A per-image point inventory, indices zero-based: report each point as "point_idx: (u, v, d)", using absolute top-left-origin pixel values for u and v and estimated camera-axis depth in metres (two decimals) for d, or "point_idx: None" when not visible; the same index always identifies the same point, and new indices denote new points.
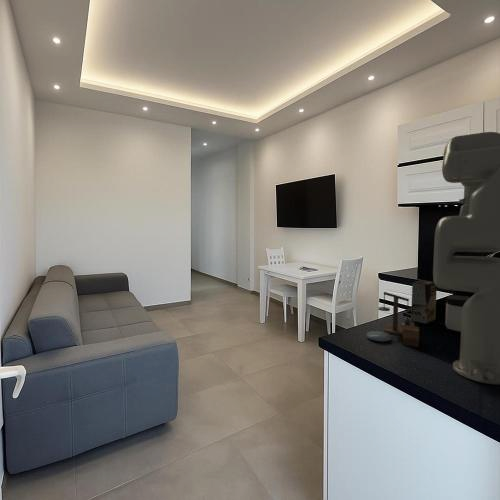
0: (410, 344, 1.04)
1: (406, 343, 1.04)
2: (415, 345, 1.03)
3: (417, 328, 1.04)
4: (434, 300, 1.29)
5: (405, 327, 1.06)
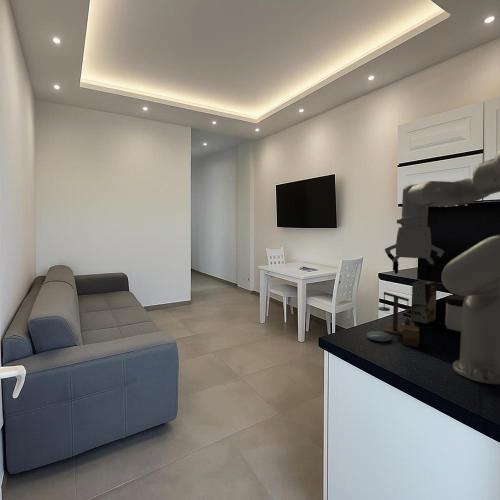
0: (410, 344, 1.04)
1: (406, 343, 1.04)
2: (415, 345, 1.03)
3: (417, 328, 1.04)
4: (434, 300, 1.29)
5: (405, 327, 1.06)
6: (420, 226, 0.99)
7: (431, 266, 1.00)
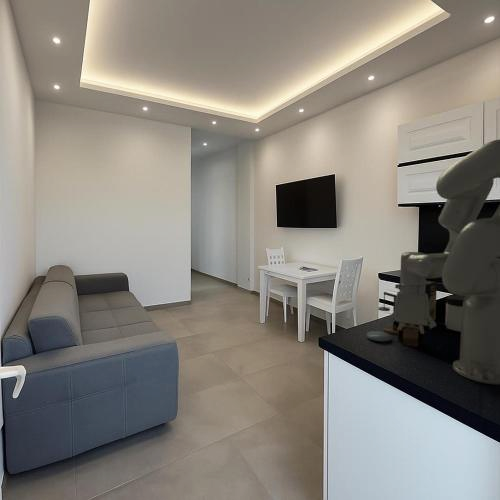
0: (410, 344, 1.04)
1: (406, 343, 1.04)
2: (415, 345, 1.03)
3: (417, 328, 1.04)
4: (434, 300, 1.29)
5: (405, 327, 1.06)
6: (418, 294, 1.00)
7: (422, 335, 1.03)
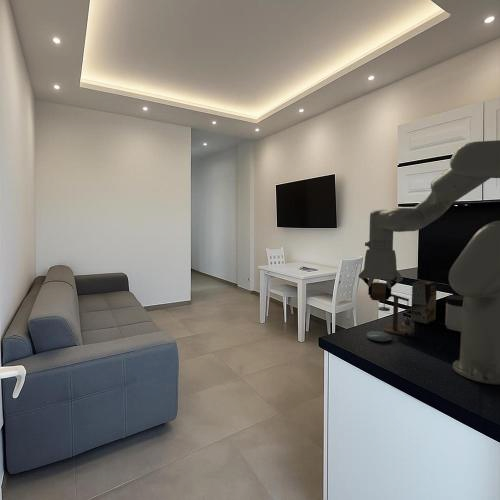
0: (378, 299, 1.07)
1: (374, 298, 1.08)
2: (383, 299, 1.06)
3: (385, 284, 1.08)
4: (434, 300, 1.29)
5: (374, 283, 1.09)
6: (385, 250, 1.04)
7: (389, 290, 1.06)
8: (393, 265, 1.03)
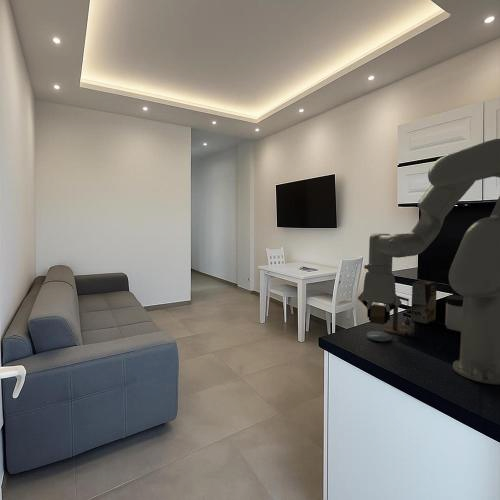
0: (377, 322, 1.08)
1: (373, 321, 1.08)
2: (382, 323, 1.07)
3: (384, 307, 1.09)
4: (434, 300, 1.29)
5: (373, 306, 1.10)
6: (384, 274, 1.04)
7: (388, 313, 1.07)
8: (392, 289, 1.04)
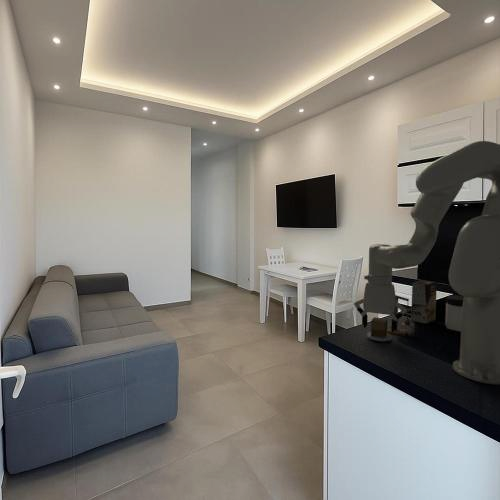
0: (378, 335, 1.08)
1: (374, 334, 1.09)
2: (382, 336, 1.07)
3: (385, 320, 1.09)
4: (434, 300, 1.29)
5: (374, 319, 1.10)
6: (384, 285, 1.05)
7: (395, 322, 1.06)
8: (392, 300, 1.04)
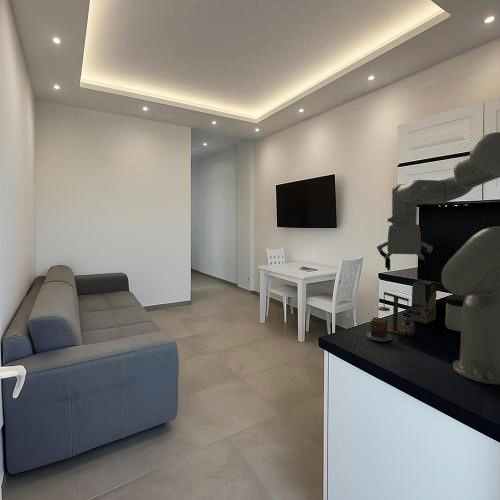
0: (378, 335, 1.08)
1: (374, 334, 1.09)
2: (382, 336, 1.07)
3: (385, 320, 1.09)
4: (434, 300, 1.29)
5: (374, 319, 1.10)
6: (410, 223, 1.03)
7: (422, 262, 1.04)
8: (418, 239, 1.03)
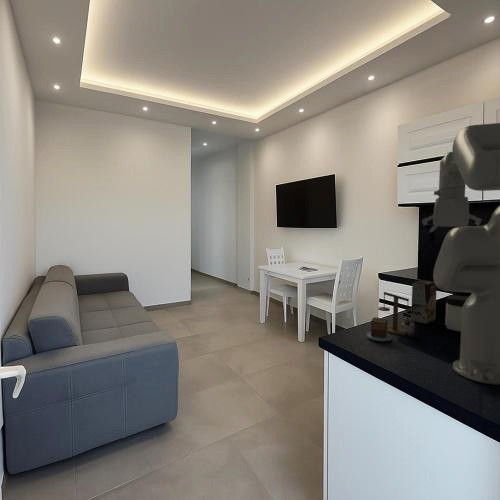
0: (378, 335, 1.08)
1: (374, 334, 1.09)
2: (382, 336, 1.07)
3: (385, 320, 1.09)
4: (434, 300, 1.29)
5: (373, 319, 1.10)
6: (458, 195, 1.03)
7: None
8: (467, 211, 1.02)
